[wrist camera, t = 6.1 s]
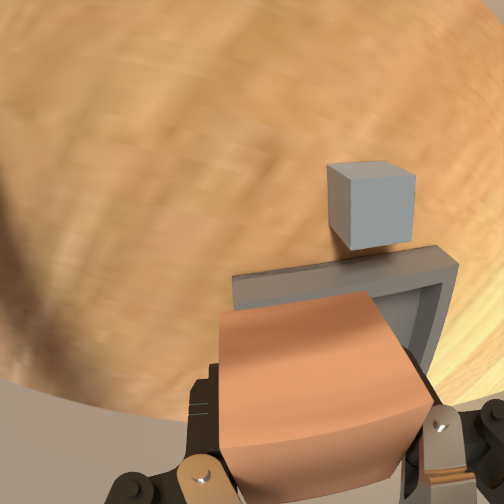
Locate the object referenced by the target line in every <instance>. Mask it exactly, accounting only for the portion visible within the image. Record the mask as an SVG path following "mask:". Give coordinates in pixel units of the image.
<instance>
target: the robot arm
mask: <svg viewBox="0 0 504 504" xmlns="http://www.w3.org/2000/svg"><path fill="white" fill-rule="evenodd" d="M401 346H402V345H401ZM402 348H403V349H404V351H405V352H406V354H407V356H408V357H409V359H410V361H411V362H412V364H413V366H414V367H415V369H416V371H417V373H418V374H419V376H420V378H421V379H422V381H423V383H424V385H425V386H426V388H427V390H428V391H429V393H430V395H431V397H432V399H433V400H434V403H433V405H432V407H431V409H430V411H429V413H428V415H427V416H426V418H425V420H424V422H423V424H422V426H421V428H420V430H419V431H418V433H417V435H416V437H415V438H414V440H413V442H412V444H411V445H410V447H409V449H408V450H407V452H406V454H405V455H404V457H403V458H402V469H401V490H400V501H399V504H477V491H476V487H477V488H478V489H479V491H480V492H481V493H482V494H483V495H484V497H485V498H486V499H487V500H488V501H489V503H490V504H504V401H503V400H500V399H492V400H489V401H487V402H486V403H485V404H484V405H483V407H482V409H481V410H474V411H466V412H457V411H456V410H455V409H454V408H452V407H450V406H448V405H443V404H442V402H441V401H440V399H439V397H438V396H437V394H436V392H435V391H434V389H433V387H432V385H431V384H430V382H429V380H428V379H427V377H426V375H425V374H424V373H423V370H422V369H421V367H420V365H419V364H418V362H417V361H416V359H415V357H414V356H413V354H412V353H411V352H410V351H409V350H408V349H406V348H405V347H404V346H402ZM189 405H190V406H189V413H188V414H189V416H188V427H187V443H186V454H185V457H184V459H183V461H182V462H181V464H180V465H179V466H177V467H176V468H175V469H173V470H171V471H169V472H166V473H162V474H158V475H155V476H151V477H146V476H145V475H143V474H141V473H138V472H128V473H124V474H122V475H120V476H119V477H118V478H117V479H116V480H115V481H114V483H113V485H112V488H111V490H110V492H109V494H108V497H107V499H106V501H105V503H104V504H242V502H241V500H240V498H239V496H238V491H237V484H236V482H235V480H234V478H233V476H232V474H231V472H230V470H229V468H228V465H227V463H226V461H225V459H224V457H223V455H222V453H221V451H220V448H219V363H214V364H209V379H198V380H196V382H195V384H194V385H193V387H192V389H191V391H190V400H189Z"/></svg>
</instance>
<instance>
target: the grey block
mask: <svg viewBox="0 0 504 504" xmlns="http://www.w3.org/2000/svg"><path fill="white" fill-rule="evenodd" d="M327 177H328V203H329V225H330V226H331V227H332V228H333V230H334V231H335V232H336V233H337V235H338V236H339V237H340V238H341V240H342V241H343V242H344V243H345V245H346V246H347V247H348V248H349V250H350V251H352V250H358V249H365V248H371V247H378V246H384V245H391V244H397V243H404V242H410V241H411V237H412V227H413V215H414V201H415V182H416V175H414V174H412V173H410V172H408V171H406V170H403V169H401V168H399V167H397V166H394V165H392V164H390V163H387V162H385V161H371V162H354V163H340V164H328V165H327Z"/></svg>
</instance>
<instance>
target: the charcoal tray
mask: <svg viewBox="0 0 504 504" xmlns="http://www.w3.org/2000/svg"><path fill="white" fill-rule="evenodd" d="M458 267H459V263H458V262H456V261H455V260H454V259H453V258H452V257H450V256H449V255H448V254H447V253H446V252H444V251H443V250H442V249H441V248H440V247H438V246H437V245H433V246H427V247H421V248H415V249H409V250H403V251H397V252H391V253H385V254H379V255H372V256H366V257H360V258H353V259H347V260H340V261H334V262H327V263H320V264H314V265H307V266H300V267H293V268H286V269H280V270H272V271H265V272H258V273H251V274H244V275H237V276H232V286H233V304H234V310H235V311H238V310H246V309H253V308H260V307H267V306H274V305H281V304H287V303H294V302H300V301H307V300H313V299H319V298H325V297H331V296H336V295H342V294H348V293H353V292H359V291H364V290H366V292H367V293H368V295H369V296H370V298H371V299H372V301H373V302H374V304H375V305H376V307H377V308H378V310H379V311H380V313H381V314H382V316H383V317H384V319H385V321H386V322H387V324H388V325H389V327H390V328H391V330H392V332H393V333H394V335H395V336H396V338H397V340H398V341H399V343H400V344H401V345H402V346H404V347H405V348H406V349H408V350H409V351H410V352H411V353H412V354H413V356H414V357H415V359H416V361H417V362H418V364H419V365H420V367H421V369H422V370H423V373H424V374H425V375H427V372H428V370H429V367H430V364H431V362H432V359H433V356H434V353H435V350H436V347H437V344H438V341H439V338H440V335H441V332H442V329H443V326H444V322H445V319H446V315H447V312H448V308H449V305H450V301H451V297H452V293H453V289H454V285H455V281H456V276H457V272H458Z"/></svg>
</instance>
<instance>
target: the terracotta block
mask: <svg viewBox="0 0 504 504" xmlns="http://www.w3.org/2000/svg"><path fill="white" fill-rule="evenodd" d="M433 403H434V400H433V399H432V397H431V395H430V393H429V391H428V390H427V388H426V386H425V385H424V383H423V381H422V379H421V378H420V376H419V374H418V373H417V371H416V369H415V367H414V366H413V364H412V362H411V361H410V359H409V357H408V356H407V354H406V352H405V351H404V349H403V348H402V346H401V344H400V343H399V341H398V340H397V338H396V336H395V335H394V333H393V332H392V330H391V328H390V327H389V325H388V324H387V322H386V321H385V319H384V317H383V316H382V314H381V313H380V311H379V310H378V308H377V307H376V305H375V304H374V302H373V301H372V299H371V298H370V296H369V295H368V293H367V292H366V290H364V291H359V292H353V293H348V294H342V295H336V296H331V297H325V298H319V299H313V300H307V301H300V302H294V303H287V304H281V305H274V306H267V307H260V308H253V309H246V310H238V311H231V312H223V313H219V448H220V451H221V453H222V455H223V457H224V459H225V461H226V463H227V465H228V468H229V470H230V472H231V474H232V476H233V478H234V480H235V482H236V484H237V486H238V488H239V490H240V492H241V494H242V496H243V497H244V499H245V501H246V503H247V504H282V503H289V502H295V501H300V500H306V499H312V498H317V497H321V496H326V495H331V494H335V493H340V492H344V491H347V490H351V489H355V488H359V487H362V486H366V485H369V484H372V483H375V482H379V481H382V480H385V479H388V478H390V477H391V475H392V474H393V472H394V471H395V469H396V468H397V466H398V465H399V463H400V461H401V460H402V458H403V457H404V455H405V454H406V452H407V450H408V449H409V447H410V445H411V444H412V442H413V440H414V438H415V437H416V435H417V433H418V431H419V430H420V428H421V426H422V424H423V422H424V420H425V418H426V416H427V415H428V413H429V411H430V409H431V407H432V405H433Z"/></svg>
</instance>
